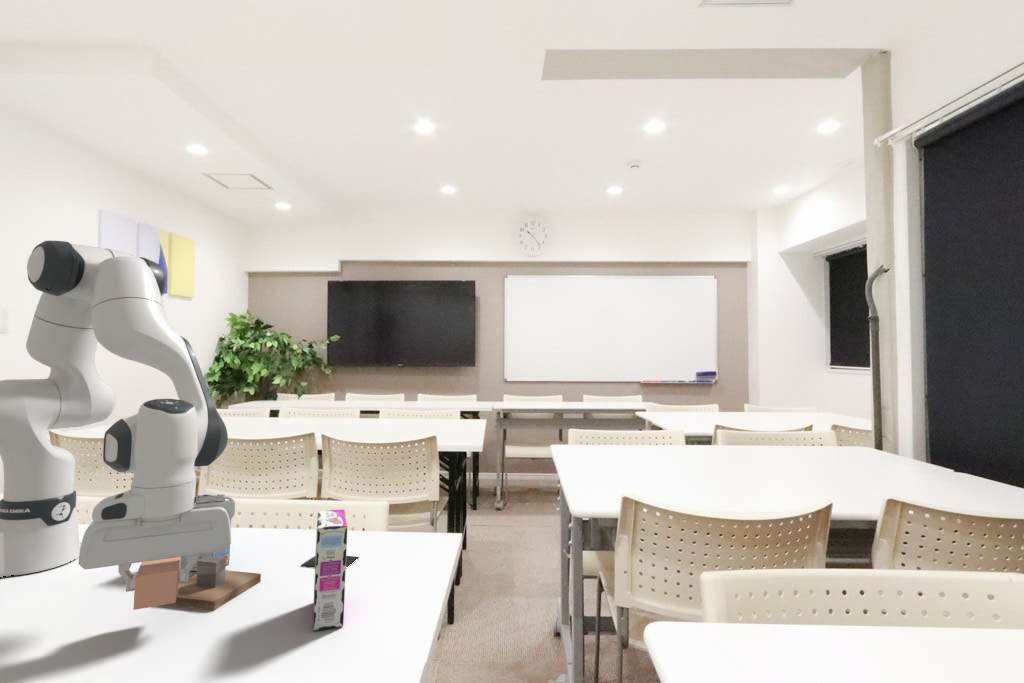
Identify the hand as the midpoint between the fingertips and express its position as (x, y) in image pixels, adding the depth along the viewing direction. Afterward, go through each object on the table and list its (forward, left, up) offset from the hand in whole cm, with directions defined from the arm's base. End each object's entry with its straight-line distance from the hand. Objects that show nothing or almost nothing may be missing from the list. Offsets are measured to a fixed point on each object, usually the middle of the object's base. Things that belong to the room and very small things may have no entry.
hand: (158, 585), depth 82 cm
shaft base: (-1, +13, -7) cm, 15 cm away
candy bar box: (+25, +10, -7) cm, 27 cm away
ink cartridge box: (-12, +23, -7) cm, 27 cm away
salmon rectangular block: (0, 0, -2) cm, 2 cm away
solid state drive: (+13, +31, -7) cm, 34 cm away
